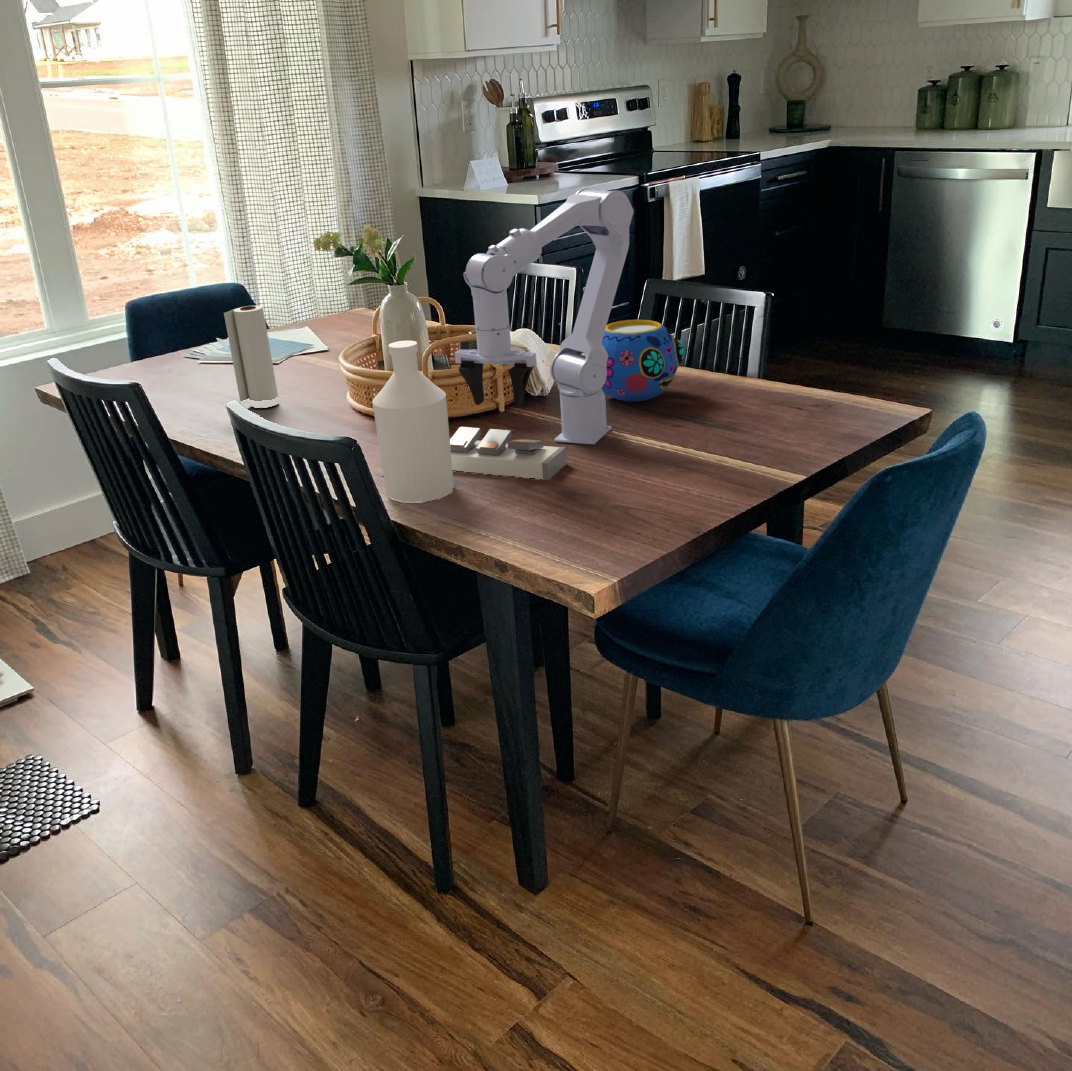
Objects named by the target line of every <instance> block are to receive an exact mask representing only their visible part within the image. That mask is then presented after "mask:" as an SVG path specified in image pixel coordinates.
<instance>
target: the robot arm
mask: <svg viewBox="0 0 1072 1071" xmlns="http://www.w3.org/2000/svg"><path fill="white" fill-rule="evenodd" d="M633 215H634V209H633V206H632V204H631V202H630V200H629V198H628V196H627V195H626V194H625V192H624V191H621V190H604V189H602V190H601V189H592V188H588V187H584V188H583V187H582V188H581V189H579V190H577V191H576V192H575V193H573V194H571V195H569V196H568V197H567V199H566V201H565V202H564V203H563V204H561V205H559V207H557V208H556V209H555V210H554V211H552V212H551V213H550V214H549V215H547V216H546V217H545V218H543V219H542V220H540V222H538V223H537V224H536V225H535V226H533V227H532V228H531V229H527V228H513V229H511V230H510V231H508V232H509V236H508V237H506V238H504V239H503V240H502V241H500V242H499V243H497V244H496V245H495V244H491V245H490V246H488V250H487V251H486V253H479V252H478V253H476V254H474V255H473V256H471V258H469V260H468V262H467V264H466V268H465V271H464V272H463V273H462V274H463V278H464V281H465V283H466V284H467V285H468V286H469V288H470V290H471V292H470V293H471V296H472V303H473V305H472V306H473V313H474V314H473V315H474V316H473V317H474V326H475V336H476V345H477V346H476V347H477V349H458V350H457V351H455V352H454V361H455V364H460V366H459V367H458V372H459V374H460V375H461V376H462V378H463V379H464V381H465V383H466V385H467V386H468V388H469V390H470V393H471V396H472V398H473V401H474V404H475V405H476V406H479V405H481V404H482V403H484V402H485V394H484V384H483V383H484V382H483V380H484V379H483V378H484V373H483V372H484V364H487V365H488V364H490V365H506V366H507V365H508V366H512V367H511V368H509V369H508V374H509V377H510V381H511V384H512V391H513V392H512V395H513V404H514V408H518V409H519V408H520V407H522V406H523V405H524V401H525V400H524V399H525V394H526V389H527V386H528V385H527V384H528V382H529V378H530V377H531V373H532V371H533V370H534V366H536V365H537V353H536V352H529V351H523V350H518V349H512V341H511V329H510V328H511V327H510V316H509V304H508V292H507V289H509V287H510V285H511V284H512V282H513V279H514V276H516V275H517V274H518V273H520V272H521V271H523V270H524V269H525V268H527V267H528V266H530V265H531V264H533V263H534V262H535V261H537V260H538V259H539V258H540V257H541V253H542V248H543V247H544V246H546V245H548V244H549V243H551V242H553V241H555V240H556V239H557V238H559V237H561V236H563V234H566V233H567V232H569V231H570V230H572V229H574V228H575V227H577V226H579V227H580V228H581V229H582V230H583V231H584V233H585V234H587V236H588V237H590V239H591V241H592V243H593V244H594V247H595V253H594V255H593V259H592V264H591V266H590V270H589V274H588V277H587V280H586V284H585V288H584V291H583V295H582V297H581V300H580V306H579V308H578V313H577V315H576V316H577V317H576V319H575V323H574V327H573V329H572V330H573V331H572V332H571V335H569V336H568V337H566V338H565V339H564V340H562V342H561V343H560V347H559V349H558V351H557V353H556V354H555V355H554V357H553V358H552V360H551V361H550V367H549V371H550V376H551V378H552V380H553V381H554V382H555V383H556V384H557V390H559V400H560V419H561V421H560V422H561V433H559V435H557V436H556V437H555V438H554V440H553V441H554V442H557V443H569V444H570V443H571V444H581V445H582V444H583V445H596V443H598V442H599V441H600V440H601V439H602V438H604V436H605V435H606V434H608V432H610V430H612V426H611V425H607V405H606V404H607V403H606V402H607V401H606V395H605V392H603V391H602V389H601V388H602V387H603V385H604V383H605V381H606V377H607V369H606V364H607V359H608V354H607V352H606V350H605V348H604V346H603V345H602V339H603V335H604V332H605V328H606V326H607V325H608V321H609V317H610V314H611V312H612V306H613V304H614V300H615V297H616V293H617V289H618V287H619V282H620V279H621V276H622V273H623V272H622V271H623V268H624V265H625V262H626V259H627V254H628V251H629V247H630V225H631V223H632V219H633ZM582 354H583V355H582Z"/></svg>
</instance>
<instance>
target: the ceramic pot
mask: <svg viewBox="0 0 1072 1071" xmlns="http://www.w3.org/2000/svg"><path fill="white" fill-rule="evenodd" d="M602 345H603V346H604V348H605V350H606V352H607V354H608V359H607V364H606V369H607V377H606V381H605V383H604V385H603V387H602V388H601V389H602V391H603V392H604V394H606V395H607V396H609V397H611V398H613V399H616V400H618V401H624V402H629V403H630V402H631V403H636V402H637V403H638V402H644V401H647V400H651V399H653V398H655V397H657V396H659V395H661V394H662V393H664V392H665V391H667V390H668V388H669V387H670V385H671V383H672V382H673V380H674V378H675V376H676V373H677V370H678V368H679V366H680V365H681V364H682V362H683V361H684V359H685V354H686V352H685V346H684V344H683V343H682V341H681V340H679V339H678V338H675V337H674V336H673V335H672V334H671V333H670V332H669V330H668V329H667V327H666V326H664V325H663V323H660V322H658V321H654V320H649V319H625V320H619V321H616V322H611V323H609V324H607V325H606V328H605V332H604V335H603V339H602Z"/></svg>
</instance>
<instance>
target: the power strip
mask: <svg viewBox="0 0 1072 1071" xmlns="http://www.w3.org/2000/svg"><path fill="white" fill-rule="evenodd" d="M449 438H450V439H451V438H452V437H449ZM481 441H482V440H477V441H476V442H475V443H474V445H473V446H472V447H471V449H470V450H469V452H468V453H462V452H451V461H452V470H458V471H464V472H463V473H466V472H476V473H475V474H477V473H483V474H482V475H487V474H492V475H491V476H498V475H509V476H515V477H514V478H519V477H522V478H521V479H529V478H535V479H534V480H540V479H542V480H541V481H550V480H551V479H552V478H553V477H554V476H555V475H556V474H558V472H560V471H561V470H562V469H563V468H564V467H565V466H567V464H568V461H567V458H568V457H567V447H566V446H550V445H549V446H547V445H543V448H539V449H534V450H518V449H508V443H507V444H506V446H505V447H504V449H503V450H502V451H501V453H500V454H499V456H496V455H485V454H478V453H477V449H476V448H477V447H478V445H479V444H480V442H481ZM560 469H561V470H560Z"/></svg>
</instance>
